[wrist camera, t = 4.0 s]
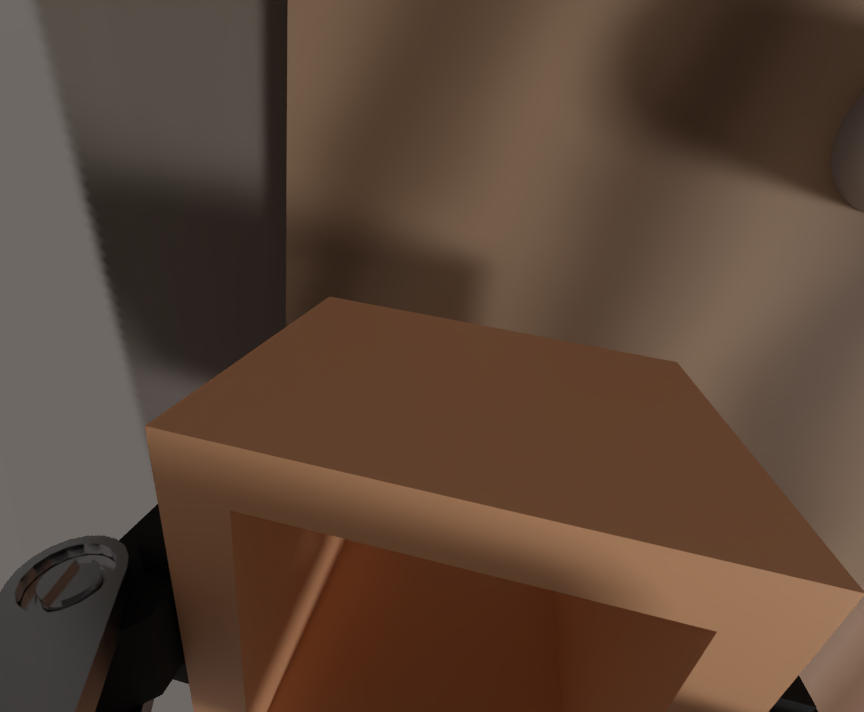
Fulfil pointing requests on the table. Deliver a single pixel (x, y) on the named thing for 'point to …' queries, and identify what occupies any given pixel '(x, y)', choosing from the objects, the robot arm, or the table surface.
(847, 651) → the table surface
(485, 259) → the post board
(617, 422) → the collar
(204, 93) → the table surface
